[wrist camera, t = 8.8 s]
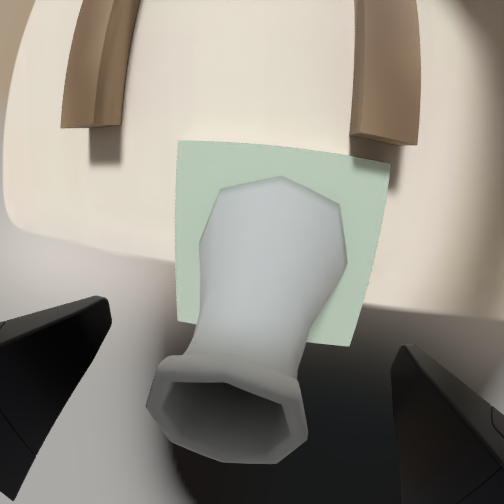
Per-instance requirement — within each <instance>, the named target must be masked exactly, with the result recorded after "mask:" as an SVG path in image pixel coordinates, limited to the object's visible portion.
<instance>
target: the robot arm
mask: <svg viewBox="0 0 504 504" xmlns="http://www.w3.org/2000/svg"><path fill="white" fill-rule="evenodd" d="M111 324H112V318H111V313H110V307H109V302H108V300H107V299H106V298H104V297H100V296H92V297H89V298H85V299H82V300H78V301H74V302H71V303H67V304H64V305H60V306H57V307H53V308H50V309H46V310H42V311H39V312H36V313H32V314H28V315H25V316H21V317H17V318H14V319H10V320H7V321H3V322H0V492H2V493H3V494H4V495H6V496H7V497H8V498H9V499H11V500H12V501H14V500H15V498H16V496H17V494H18V492H19V490H20V488H21V485H22V483H23V481H24V479H25V477H26V475H27V473H28V471H29V469H30V467H31V465H32V463H33V461H34V459H35V458H36V455H37V453H38V452H39V449H40V448H41V446H42V444H43V442H44V441H45V439H46V437H47V435H48V433H49V432H50V430H51V428H52V426H53V425H54V423H55V421H56V419H57V418H58V416H59V414H60V413H61V411H62V409H63V407H64V406H65V404H66V403H67V401H68V399H69V398H70V396H71V394H72V393H73V391H74V390H75V388H76V386H77V385H78V383H79V382H80V380H81V378H82V377H83V375H84V374H85V372H86V371H87V369H88V367H89V366H90V364H91V363H92V361H93V359H94V357H95V356H96V354H97V352H98V350H99V348H100V346H101V344H102V342H103V340H104V338H105V337H106V335H107V333H108V331H109V329H110V327H111ZM391 387H392V403H393V417H394V424H395V430H396V438H397V446H398V454H399V463H400V474H401V486H402V504H504V415H503V414H502V413H500V412H499V411H498V410H497V409H496V408H494V407H493V406H491V405H490V404H489V403H488V402H487V401H486V400H484V399H483V398H482V397H481V396H479V395H478V394H477V393H476V392H474V391H473V390H472V389H471V388H469V387H468V386H467V385H466V384H464V383H463V382H462V381H461V380H459V379H458V378H457V377H455V376H454V375H453V374H452V373H450V372H449V371H448V370H446V369H445V368H444V367H443V366H441V365H440V364H439V363H438V362H436V361H435V360H434V359H432V358H431V357H430V356H428V355H427V354H426V353H425V352H423V351H422V350H421V349H419V348H418V347H417V346H415V345H413V344H403V345H401V346H400V348H399V350H398V352H397V354H396V357H395V359H394V361H393V364H392V366H391Z"/></svg>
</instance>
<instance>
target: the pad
mask: <svg viewBox="0 0 504 504" xmlns="http://www.w3.org/2000/svg"><path fill="white" fill-rule="evenodd" d="M390 170H391V164H389V163H384V162H379V161H374V160H369V159H364V158H358V157H353V156H347V155H341V154H335V153H328V152H321V151H314V150H307V149H299V148H291V147H281V146H272V145H261V144H248V143H233V142H214V141H178V149H177V169H176V199H175V267H176V298H177V318H178V321H182V322H187V323H192V324H197V320H198V316H199V313H200V259H199V241H200V239H201V236H202V234H203V231H204V228H205V226H206V223H207V221H208V218H209V216H210V213H211V211H212V208H213V206H214V203H215V201H216V198H217V196H218V193H219V191H220V189H221V188H226V187H230V186H234V185H239V184H243V183H248V182H253V181H257V180H262V179H267V178H272V177H277V176H284V177H286V178H288V179H290V180H292V181H295V182H297V183H299V184H301V185H303V186H305V187H307V188H309V189H311V190H313V191H315V192H317V193H319V194H321V195H323V196H325V197H327V198H329V199H331V200H333V201H335V202H336V203H338V204H340V209H341V216H342V222H343V229H344V237H345V244H346V252H347V260H348V264H347V266H346V268H345V270H344V272H343V273H342V275H341V276H340V278H339V280H338V281H337V283H336V285H335V286H334V288H333V289H332V291H331V293H330V294H329V296H328V298H327V300H326V302H325V304H324V305H323V307H322V309H321V311H320V313H319V314H318V316H317V318H316V320H315V321H314V323H313V325H312V327H311V328H310V331H309V334H308V338H307V341H306V342H311V343H320V344H329V345H339V346H350V343H351V339H352V336H353V333H354V330H355V327H356V324H357V320H358V317H359V314H360V310H361V307H362V304H363V300H364V296H365V293H366V289H367V285H368V282H369V278H370V274H371V270H372V266H373V261H374V257H375V253H376V248H377V244H378V239H379V234H380V229H381V224H382V219H383V214H384V208H385V202H386V196H387V190H388V184H389V177H390Z"/></svg>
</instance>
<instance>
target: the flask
mask: <svg viewBox="0 0 504 504" xmlns="http://www.w3.org/2000/svg"><path fill="white" fill-rule="evenodd" d="M199 259H200V313H199V316H198V320H197V324H196V328H195V332H194V336H193V339H192V341H191V343H190V345H189V347H188V349H187V350H186V351H185V353H184V354H183V355H180V356H179V355H177V356H168V357H167V358H166V359H164V360H163V361H162V362H161V363H160V364H159V367H158V368H157V370H156V373H155V376H154V379H153V383H152V386H151V389H150V393H149V396H148V399H147V403H146V408H147V409H148V411H149V412H150V413H151V415H152V417H153V418H154V419H155V421H156V422H157V424H158V425H159V426H160V428H161V429H162V431H163V432H164V434H165V435H166V436H167V438H168V439H169V440H170V441H171V442H173V443H175V444H177V445H180V446H182V447H184V448H187V449H189V450H191V451H194V452H196V453H199V454H202V455H204V456H207V457H210V458H212V459H215V460H217V461H221V462H229V463H249V464H277V463H278V462H279V461H281V460H282V459H283V458H285V457H286V456H287V455H288V454H290V453H291V452H292V451H294V450H295V449H296V448H297V447H299V446H300V445H301V444H302V443H304V442H305V441H306V440H307V436H308V428H307V423H306V418H305V413H304V407H303V401H302V396H301V391H300V387H299V383H298V381H297V372H298V367H299V364H300V361H301V357H302V354H303V351H304V348H305V344H306V341H307V338H308V334H309V331H310V328H311V327H312V325H313V323H314V321H315V320H316V318H317V316H318V314H319V313H320V311H321V309H322V307H323V305H324V304H325V302H326V300H327V298H328V296H329V294H330V293H331V291H332V289H333V288H334V286H335V285H336V283H337V281H338V280H339V278H340V276H341V275H342V273H343V272H344V270H345V268H346V266H347V264H348V260H347V252H346V244H345V237H344V229H343V222H342V216H341V209H340V204H338V203H336V202H335V201H333V200H331V199H329V198H327V197H325V196H323V195H321V194H319V193H317V192H315V191H313V190H311V189H309V188H307V187H305V186H303V185H301V184H299V183H297V182H295V181H292V180H290V179H288V178H286V177H284V176H277V177H272V178H267V179H262V180H257V181H253V182H248V183H243V184H239V185H234V186H230V187H226V188H221V189H220V191H219V193H218V196H217V198H216V201H215V203H214V206H213V208H212V211H211V213H210V216H209V218H208V221H207V223H206V226H205V228H204V231H203V234H202V236H201V239H200V241H199Z"/></svg>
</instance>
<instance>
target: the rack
mask: <svg viewBox="0 0 504 504" xmlns="http://www.w3.org/2000/svg"><path fill="white" fill-rule="evenodd" d="M139 2H140V0H83V2H82V6H81V9H80V13H79V16H78V20H77V24H76V28H75V32H74V36H73V40H72V45H71V50H70V55H69V60H68V66H67V72H66V79H65V86H64V94H63V103H62V115H61V128H93V127H102V126H112V125H121V115H122V104H123V94H124V85H125V77H126V69H127V63H128V56H129V50H130V44H131V39H132V34H133V28H134V24H135V19H136V14H137V10H138V6H139ZM420 94H421V57H420V36H419V23H418V13H417V4H416V0H355V56H354V80H353V97H352V111H351V123H350V134H349V135H350V136H355V137H361V138H366V139H371V140H376V141H380V142H385V143H389V144H394V145H417V141H418V130H419V116H420Z"/></svg>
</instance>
